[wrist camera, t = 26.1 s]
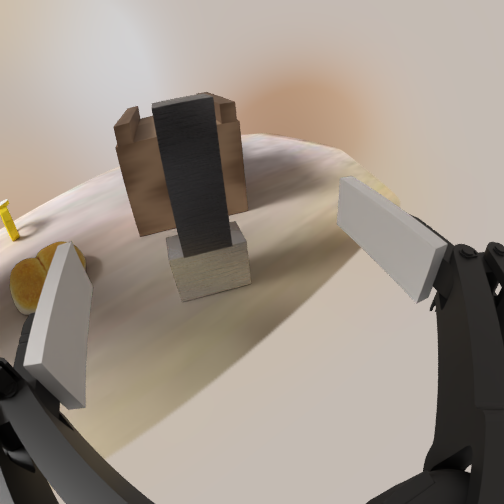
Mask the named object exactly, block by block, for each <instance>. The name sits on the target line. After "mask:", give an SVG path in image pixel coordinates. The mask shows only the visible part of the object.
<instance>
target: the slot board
mask: <svg viewBox="0 0 504 504" xmlns="http://www.w3.org/2000/svg"><path fill="white" fill-rule="evenodd" d="M198 94H203V93H198ZM204 94H207V95H210V96H213V99H214V107H215V116H216V124H217V132H218V140H219V148H220V156H221V164H222V172H223V179H224V187H225V194H226V202H227V209H228V215H231V214H236V213H240V212H245V211H248V206H247V195H246V185H245V174H244V164H243V153H242V143H241V132H240V122H239V121H238V120H237V117H236V107H235V102H234V101H231V100H228V99H225V98H223V97H220V96H217V95H214V94H211V93H208V92H204ZM114 131H115V136H116V140H117V146H116V152H117V156H118V160H119V164H120V168H121V172H122V176H123V180H124V183H125V187H126V191H127V194H128V198H129V201H130V205H131V208H132V212H133V215H134V218H135V222H136V225H137V228H138V231H139V234H140V237H141V236H145V235H149V234H153V233H157V232H161V231H165V230H169V229H173V228H176V224H175V220H174V216H173V211H172V207H171V203H170V198H169V194H168V189H167V185H166V180H165V176H164V171H163V166H162V161H161V156H160V151H159V146H158V141H157V136H156V130H155V125H154V119H153V116H150V117H146V118H142V119H140V115H139V109H138V106H136V107H132V108H128V109H127V110H126V111H125V113H124V114H123V115H122V117H121V118H120V119H119V121H118V122H117V123H116V124H115V126H114Z"/></svg>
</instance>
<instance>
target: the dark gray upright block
mask: <svg viewBox="0 0 504 504" xmlns="http://www.w3.org/2000/svg"><path fill="white" fill-rule="evenodd" d="M152 113H153V119H154V125H155V130H156V136H157V141H158V146H159V151H160V156H161V161H162V166H163V171H164V176H165V180H166V185H167V189H168V194H169V198H170V203H171V207H172V211H173V216H174V220H175V224H176V228H177V232H178V235H176V236H172V237H168V238H166V242H167V250H168V257H169V262H170V266H171V269H172V272H173V275H174V278H175V282H176V285H177V288H178V291H179V294H180V297H181V300H182V302H184V301H188V300H192V299H196V298H200V297H203V296H207V295H211V294H215V293H219V292H223V291H226V290H230V289H234V288H238V287H241V286H245V285H249V284H251V278H250V269H249V260H248V251H247V241H246V239H245V238H244V236H243V234H242V232H241V230H240V229H239V227H238V225H237V223H236V222H235V221H234V222H230V223H229V217H228V209H227V202H226V194H225V187H224V179H223V172H222V164H221V156H220V148H219V140H218V132H217V124H216V116H215V107H214V99H213V96H210V95H207V94H204V93H203V94H197V95H191V96H186V97H181V98H175V99H171V100H166V101H161V102H157V103H153V104H152Z"/></svg>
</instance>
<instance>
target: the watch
mask: <svg viewBox="0 0 504 504" xmlns="http://www.w3.org/2000/svg"><path fill="white" fill-rule="evenodd" d="M8 204H9V202H8V200H7V199H6V200H4V201H2V202H0V216H1V218H2V220H3V223H4V225H5V227H6V229H7V231H8V234H9V236H10V237H11V239H12V241H14V240H16V239H17V238H19V234H18V231H17V229H16V227H15V224H14V222H13V220H12V217H11V215H10V213H9V211H8V209H7V207H6V206H7V205H8Z"/></svg>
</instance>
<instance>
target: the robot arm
mask: <svg viewBox="0 0 504 504" xmlns="http://www.w3.org/2000/svg"><path fill="white" fill-rule="evenodd" d="M337 225H338V226H339V227H340V228H341V229H342V230H343V231H344V232H345V233H346V234H348V235H349V236H350V237H351V238H352V239H353V240H354V241H355V242H356V243H357V244H358V245H359V246H360V247H361V248H362V249H363V250H364V251H365V252H366V253H367V254H368V255H369V256H370V257H371V258H373V259H374V260H375V261H376V262H377V263H378V264H379V265H380V266H381V267H382V268H383V269H384V270H385V271H386V272H387V273H388V274H389V276H391V277H392V278H393V280H394V281H396V283H397V284H398V285H399V286H400V287H401V288H402V289H403V290H404V291H405V292H406V293H407V294H408V295H409V296H410V297H411V298H412V299H413V300H414V301H415V303H418V302H420V301H422V300H424V299H426V298H428V297H429V294H430V292H431V289H432V287H434V288H435V289H436V290H437V293H436V295H435V297H434V300H433V302H432V304H431V307H430V311H432V310H433V307H434V306H435V305H436V310H435V312H436V315H437V331H438V398H437V413H436V426H435V435H434V441H433V444H432V446H431V448H430V450H429V452H428V454H427V456H426V459H425V463H424V468H423V472H422V473H420V474H418V475H416V476H414V477H412V478H410V479H408V480H406V481H404V482H402V483H400V484H398V485H395V486H394V487H392V488H390V489H389V490H387V491H385V492H384V493H382V494H380V495H378V496H377V497H375V498H373V499H371V500H370V501H368V502H367V503H366V504H504V246H503V245H502V244H499V243H495V242H490V243H489V244H488V245H487V248H486V251H485V252H482V253H478V252H477V251H476V250H475V249H473V248H472V247H470V246H467V245H464V244H458V245H455V246H454V245H452V244H451V243H450V242H449V241H448V240H446V239H445V238H444V237H442V236H441V235H440V234H439V233H437V232H436V231H435V230H433V229H432V228H431V227H429V226H428V225H426V224H425V223H424V222H422V221H421V220H420V219H419V218H417V217H414V216H412V215H410V214H408V213H407V212H405V211H404V210H402V209H401V208H400V207H398V206H397V205H395V204H394V203H392V202H391V201H390V200H388V199H387V198H385V197H384V196H382V195H381V194H379V193H378V192H376V191H375V190H373V189H372V188H370V187H369V186H367V185H366V184H364V183H363V182H361V181H359V180H358V179H356V178H355V177H353V176H348V177H342V178H340V185H339V201H338V214H337ZM499 283H500V285H501V287H502V288H501V290H500V292H499V294H498V295H497V294H496V293H495V290H496V288H497V286H498V284H499ZM92 293H93V286H92V284H91V282H90V280H89V278H88V276H87V274H86V272H85V269H84V267H83V265H82V263H81V261H80V259H79V257H78V254H77V252H76V250H75V248H74V245H73V243H72V241H71V242H67V243H64V244H61V245H58V246H57V249H56V252H55V254H54V257H53V260H52V262H51V265H50V268H49V271H48V274H47V277H46V280H45V283H44V286H43V289H42V292H41V295H40V299H39V302H38V305H37V309H36V312H35V313H31V314H30V315H29V316H28V318H27V319H26V321H25V323H24V325H23V329H22V332H21V337H20V340H19V345H18V348H17V353H16V357H15V362H14V367H12V366H11V365H10V364H9V363H8V362H7V361H6V360H5V358H0V504H59V503H58V501H57V499H56V497H55V495H54V493H53V491H52V489H51V487H50V485H51V486H52V487H53V489H54V490H55V491H56V492H57V494H58V495H59V496H60V497H61V498H62V500H63V501H64V502H65V503H66V504H154V503H153V502H152V501H151V500H150V499H148V498H147V497H146V496H145V495H143V494H142V493H141V492H140V491H138V490H137V489H136V488H135V487H134V486H132V485H131V484H130V483H129V482H128V481H127V480H126V479H124V478H123V477H122V476H121V475H120V474H119V473H118V472H117V471H116V470H115V469H114V468H112V467H111V466H110V465H109V464H108V463H107V462H106V461H105V460H104V459H103V458H102V457H101V456H100V455H99V454H98V453H97V452H96V451H95V450H94V449H93V447H92V446H91V445H90V444H89V443H88V442H87V441H86V440H85V439H84V438H83V437H82V436H81V434H80V433H79V432H78V431H77V430H76V429H75V428H74V426H73V425H72V424H71V423H70V422H69V421H68V419H67V418H66V417H65V416H64V415H63V414H62V413H61V412H60V411H59V410H60V403H61V404H63V405H64V406H65V407H66V408H67V409H68V410H70V409H78V408H86V357H87V341H88V329H89V318H90V309H91V301H92ZM471 464H472V467H471V473H468V472H465V470H466V468H467V467H468V466H469V465H471ZM48 482H49V483H50V485H49V483H48Z"/></svg>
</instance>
